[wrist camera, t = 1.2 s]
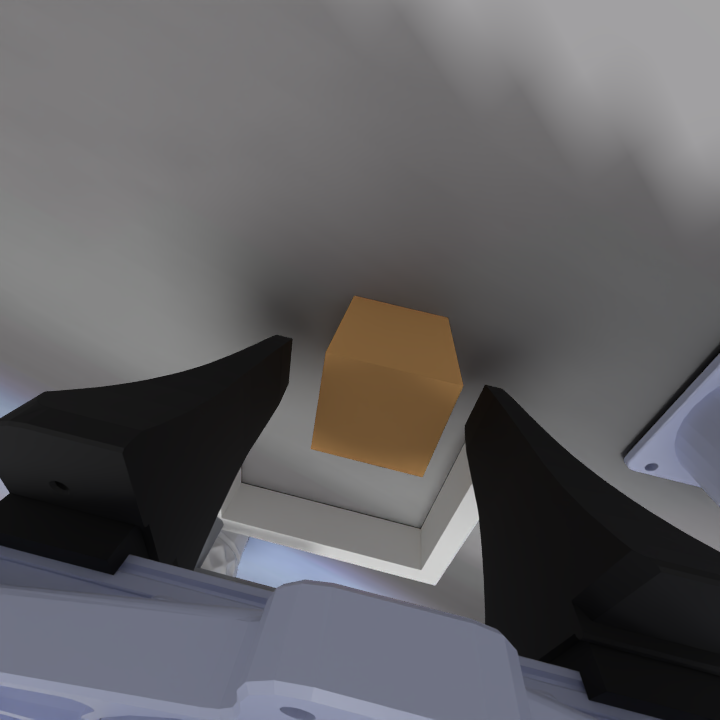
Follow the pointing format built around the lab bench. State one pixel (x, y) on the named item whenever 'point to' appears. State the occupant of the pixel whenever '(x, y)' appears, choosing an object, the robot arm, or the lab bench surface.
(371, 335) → the tan wooden cube
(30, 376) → the lab bench surface
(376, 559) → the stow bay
